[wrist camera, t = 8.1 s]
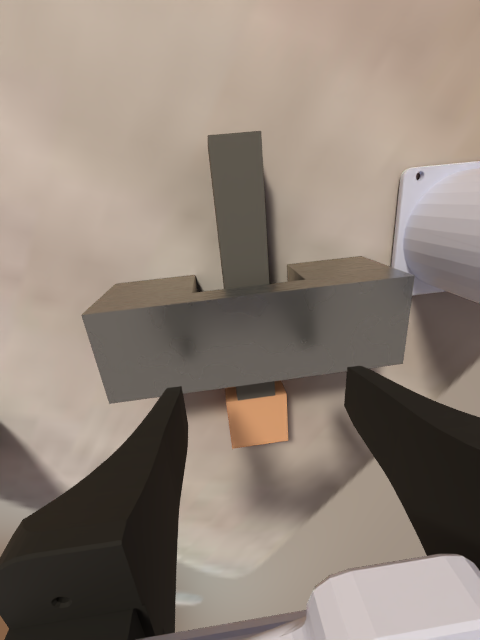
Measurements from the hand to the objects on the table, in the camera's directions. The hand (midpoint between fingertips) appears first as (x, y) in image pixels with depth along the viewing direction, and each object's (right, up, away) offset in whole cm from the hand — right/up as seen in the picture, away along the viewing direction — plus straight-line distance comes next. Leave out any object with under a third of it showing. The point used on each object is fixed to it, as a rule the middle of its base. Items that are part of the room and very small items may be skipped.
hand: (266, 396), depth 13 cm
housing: (-1, +4, +7) cm, 8 cm away
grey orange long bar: (-1, +4, +7) cm, 9 cm away
